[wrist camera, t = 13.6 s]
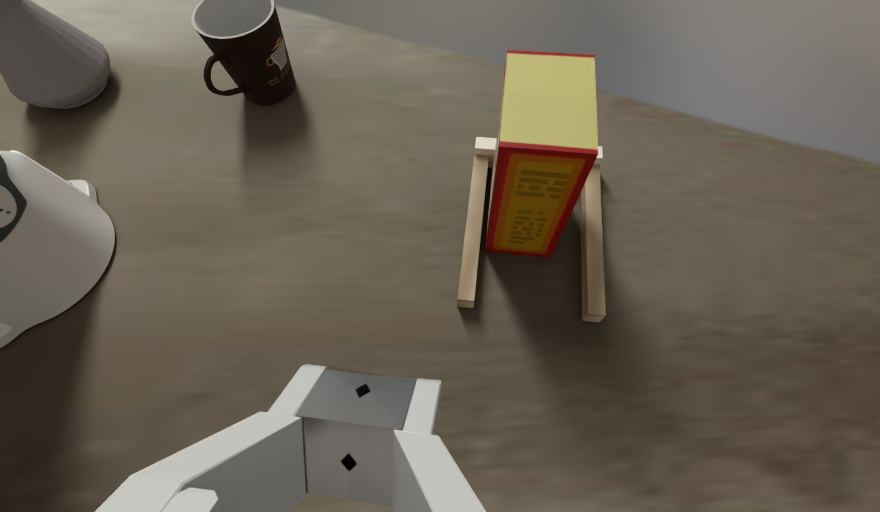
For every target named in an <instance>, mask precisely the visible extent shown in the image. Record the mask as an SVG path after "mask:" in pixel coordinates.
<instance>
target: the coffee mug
mask: <svg viewBox="0 0 880 512" xmlns="http://www.w3.org/2000/svg"><path fill="white" fill-rule="evenodd" d="M192 24H193V26H194V28H195V29H196V31H197V32H198V33H199V35H200V36H201V37H202V39H203V40H204V41H205V43H206V44H207V45H208V47H209V48H210V49H211V51H212V52H213V54H214V55H213V56H211V57H209V59H208V60H207V62H206V65H205V68H204V80H205V83H206V85H207V87H208V89H209V90H210V91H211V92H212V93H215V94H218V95H224V96H230V95H235V94H239V93H242V92H243V94H244V95H245V96H246V98H247V99H248V100H249V101H250V102H252V103H254V104H257V105H273V104H276V103H279V102H281V101H283V100H285V99H286V98H287V97H288V96H290V95H291V93H292V92H293V90H294V88H295V79H294V75H293V71H292V67H291V64H290V60H289V56H288V52H287V49H286V45H285V41H284V37H283V34H282V30H281V26H280V23H279V19H278V15H277V11H276V8H275V4H274V1H273V0H202V1H201V2H200V3H199V4H198V5H197V6H196V7H195V9H194V11H193V13H192ZM217 61H219V62H220V63H221V64H222V66H223V67H224V68H225V70H226V71H227V72H228V74H229V75H230V76H231V78H232V79H233V80H234V82H235V83H236V84H237V86H238V87H239V88H235V89H231V90H226V91H220V90H217V89H216V88H215V87H214V86H213V84H212V81H211V69H212V66H213V64H214V63H215V62H217Z"/></svg>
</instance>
